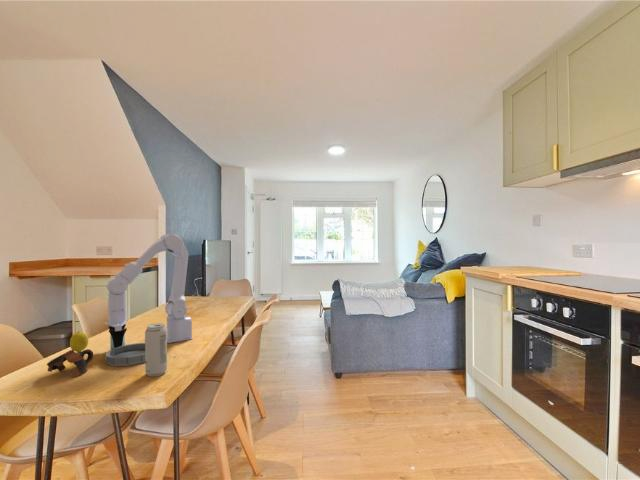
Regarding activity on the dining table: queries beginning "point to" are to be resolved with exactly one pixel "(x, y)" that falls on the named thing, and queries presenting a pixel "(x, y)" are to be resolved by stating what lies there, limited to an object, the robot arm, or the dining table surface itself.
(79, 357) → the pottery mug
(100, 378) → the dining table surface
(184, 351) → the dining table surface
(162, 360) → the energy drink can
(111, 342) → the teal cup
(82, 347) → the lemon
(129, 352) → the tray
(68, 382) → the dining table surface
